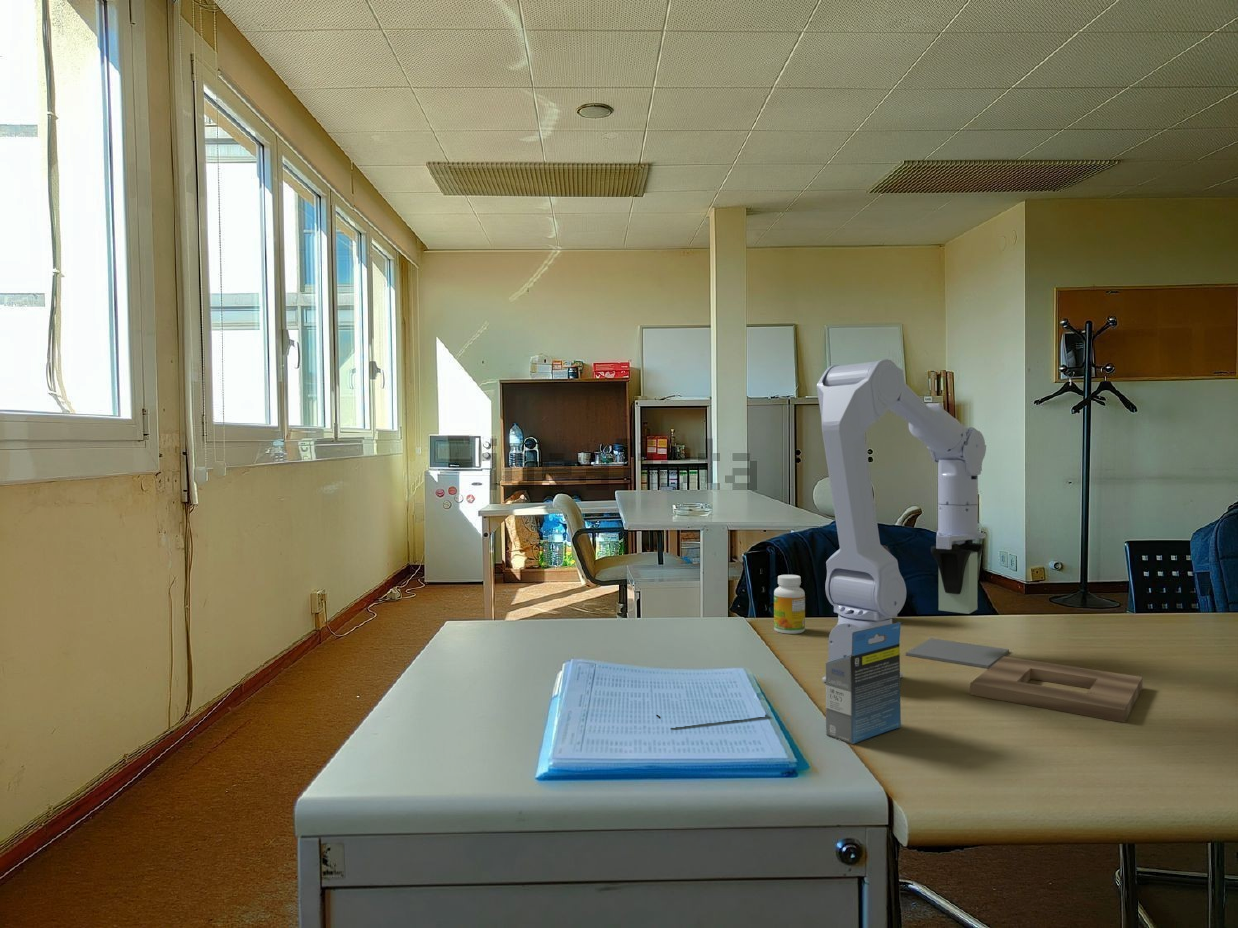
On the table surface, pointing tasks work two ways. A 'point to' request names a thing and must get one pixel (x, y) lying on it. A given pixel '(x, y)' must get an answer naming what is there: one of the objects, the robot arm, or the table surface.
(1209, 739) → the table surface
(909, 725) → the table surface
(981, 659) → the pad
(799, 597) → the supplement bottle
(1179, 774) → the table surface
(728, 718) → the table surface
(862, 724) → the label tape cartridge
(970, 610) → the peg
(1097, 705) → the collar
